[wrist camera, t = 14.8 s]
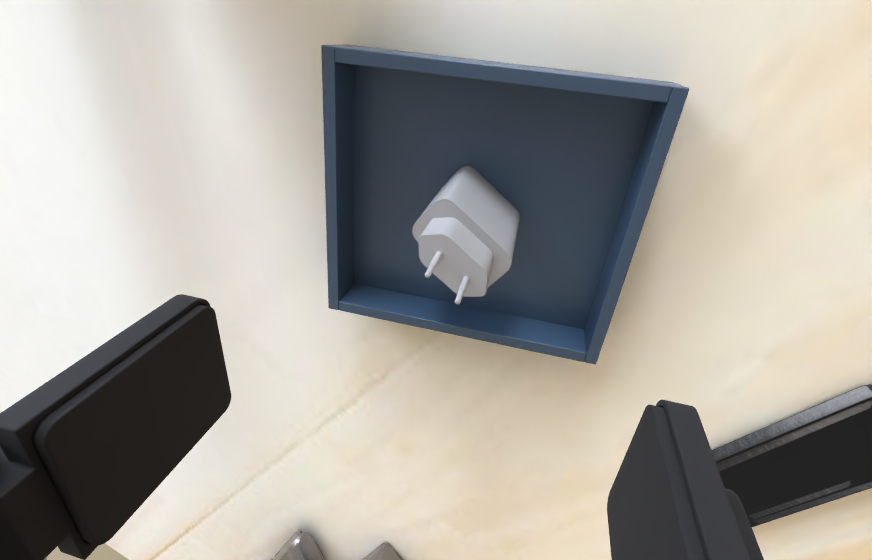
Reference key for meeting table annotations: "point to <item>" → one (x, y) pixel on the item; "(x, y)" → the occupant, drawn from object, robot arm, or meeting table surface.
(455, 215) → the power adapter
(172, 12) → the meeting table surface
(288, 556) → the emblem
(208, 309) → the robot arm
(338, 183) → the tray
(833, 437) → the phone
